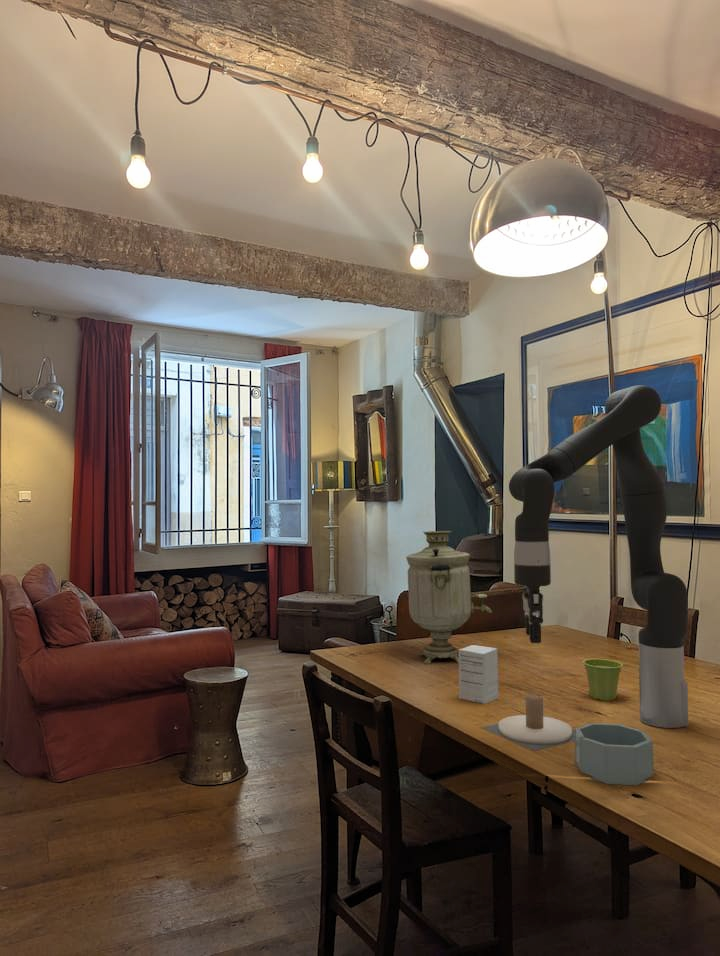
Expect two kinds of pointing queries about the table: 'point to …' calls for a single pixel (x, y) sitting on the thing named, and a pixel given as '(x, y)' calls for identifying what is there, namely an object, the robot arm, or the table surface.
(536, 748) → the mat
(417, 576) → the samovar
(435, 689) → the table surface
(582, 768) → the bowl
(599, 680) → the plant pot
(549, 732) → the lid
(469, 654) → the supplement box
